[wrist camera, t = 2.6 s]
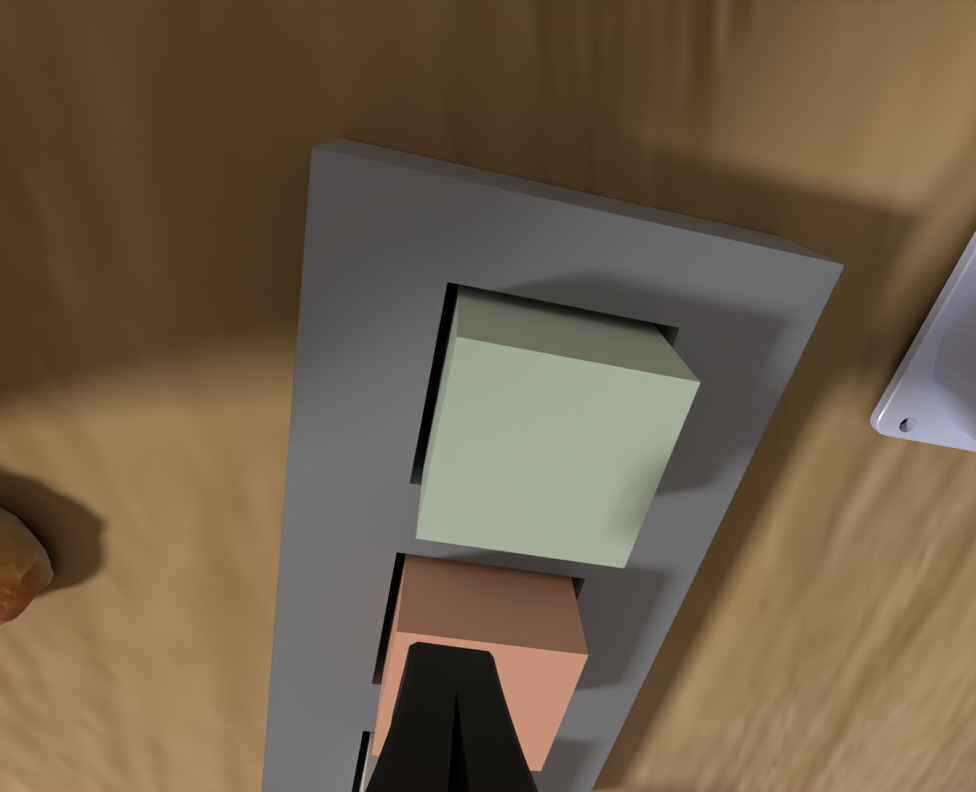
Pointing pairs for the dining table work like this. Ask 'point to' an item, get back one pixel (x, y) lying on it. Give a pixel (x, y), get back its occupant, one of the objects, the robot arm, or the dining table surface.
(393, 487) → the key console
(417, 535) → the sage key
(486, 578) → the terracotta key
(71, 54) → the dining table surface
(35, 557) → the pastry
